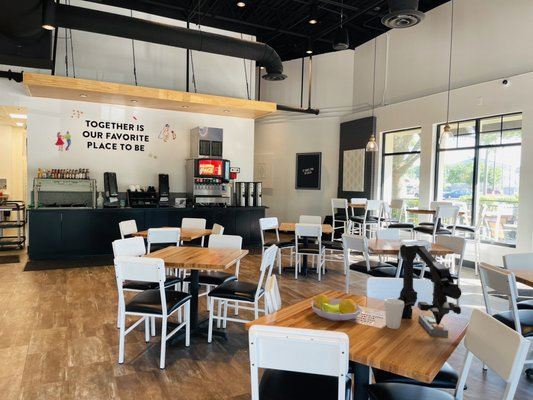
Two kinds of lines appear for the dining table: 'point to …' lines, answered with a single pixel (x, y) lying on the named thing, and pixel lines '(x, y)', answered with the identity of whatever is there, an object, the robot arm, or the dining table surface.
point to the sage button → (431, 321)
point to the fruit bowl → (335, 308)
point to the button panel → (430, 329)
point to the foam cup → (393, 312)
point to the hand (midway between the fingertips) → (437, 324)
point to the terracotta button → (437, 326)
